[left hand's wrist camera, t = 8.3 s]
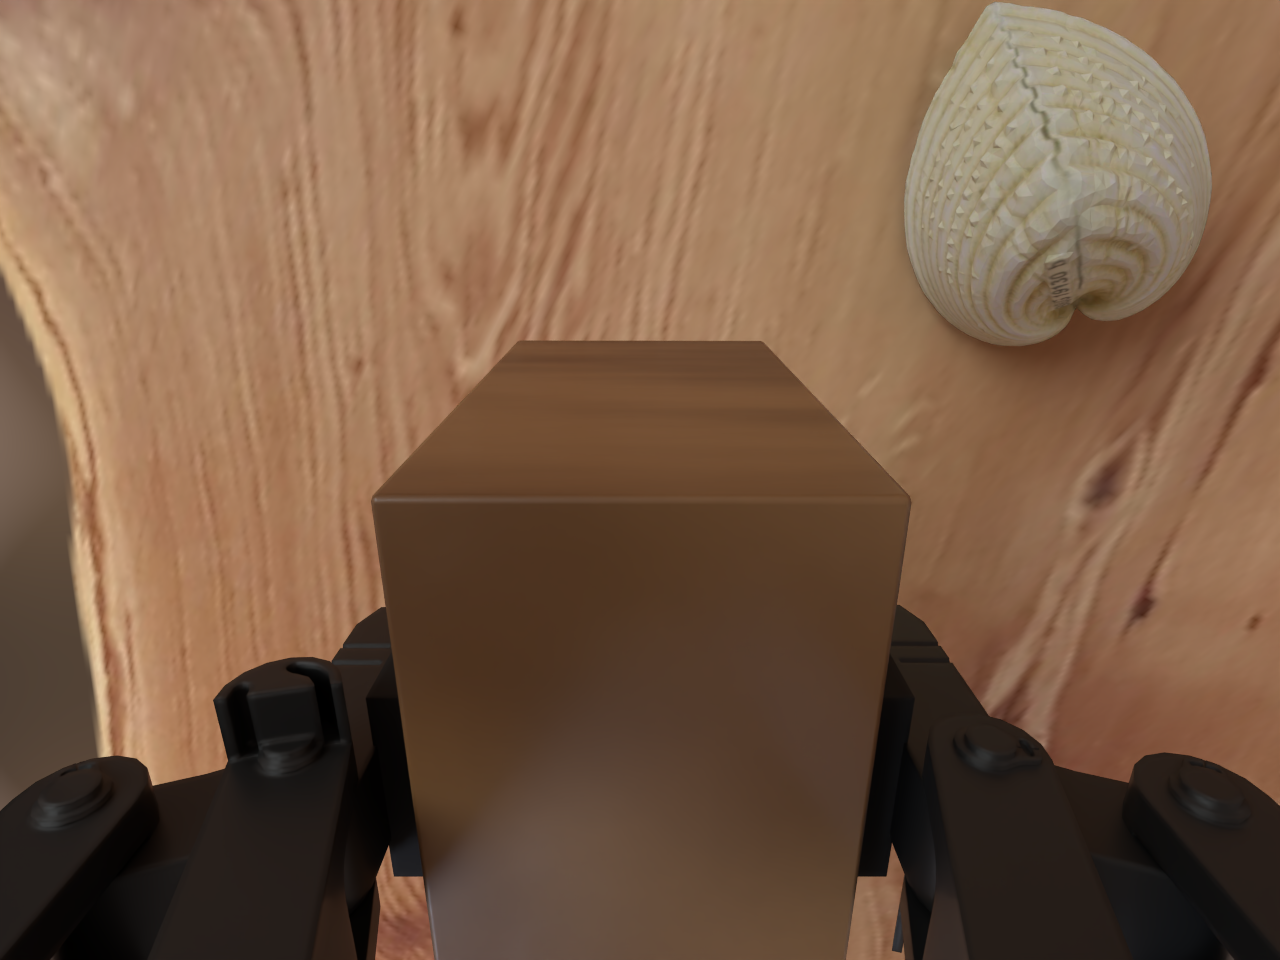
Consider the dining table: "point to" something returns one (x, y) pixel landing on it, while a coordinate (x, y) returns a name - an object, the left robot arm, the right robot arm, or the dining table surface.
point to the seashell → (1052, 179)
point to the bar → (640, 655)
